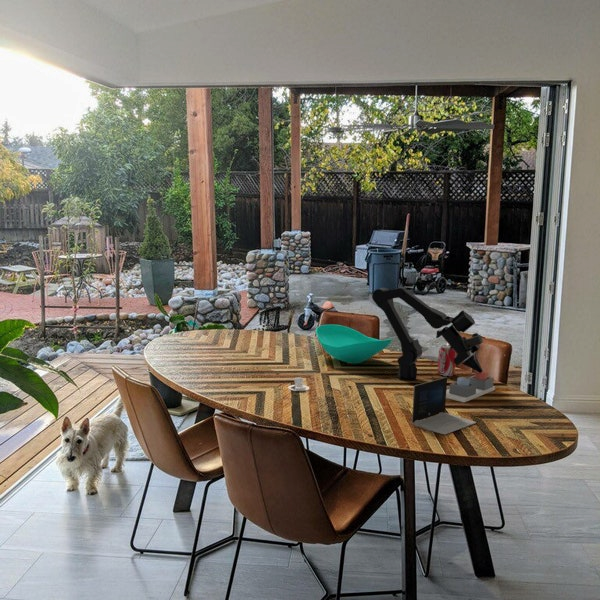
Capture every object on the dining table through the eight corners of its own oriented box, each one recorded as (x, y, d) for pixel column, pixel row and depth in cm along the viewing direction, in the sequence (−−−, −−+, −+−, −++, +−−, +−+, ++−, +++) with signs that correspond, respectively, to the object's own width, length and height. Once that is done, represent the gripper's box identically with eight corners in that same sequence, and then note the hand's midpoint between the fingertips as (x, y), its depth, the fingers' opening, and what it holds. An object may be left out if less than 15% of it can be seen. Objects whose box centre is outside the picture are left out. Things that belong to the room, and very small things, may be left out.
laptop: (444, 436, 196) (447, 394, 194) (411, 425, 205) (413, 385, 203) (476, 424, 208) (479, 385, 206) (443, 414, 217) (446, 376, 215)
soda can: (454, 377, 264) (457, 349, 262) (437, 376, 266) (439, 347, 264) (454, 373, 271) (456, 345, 269) (437, 372, 272) (439, 344, 271)
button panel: (439, 396, 237) (440, 383, 236) (470, 384, 255) (471, 372, 254) (464, 402, 230) (465, 388, 230) (494, 390, 248) (495, 377, 247)
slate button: (454, 392, 236) (455, 378, 235) (460, 390, 239) (461, 376, 238) (465, 395, 233) (466, 381, 232) (470, 392, 236) (471, 379, 236)
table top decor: (406, 367, 278) (408, 337, 276) (358, 375, 261) (360, 343, 260) (346, 349, 309) (347, 322, 307) (299, 355, 293) (300, 327, 291)
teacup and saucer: (304, 393, 235) (304, 383, 235) (284, 390, 238) (284, 380, 237) (312, 387, 243) (312, 377, 243) (292, 385, 246) (292, 374, 246)
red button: (472, 385, 246) (473, 372, 246) (477, 383, 249) (478, 370, 249) (483, 388, 243) (484, 374, 243) (488, 386, 247) (489, 372, 246)
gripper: (464, 330, 238) (492, 364, 234) (476, 323, 254) (503, 354, 250) (442, 348, 242) (469, 382, 239) (455, 340, 259) (481, 371, 255)
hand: (481, 371), depth 246 cm, fingers closed, pressing on red button
